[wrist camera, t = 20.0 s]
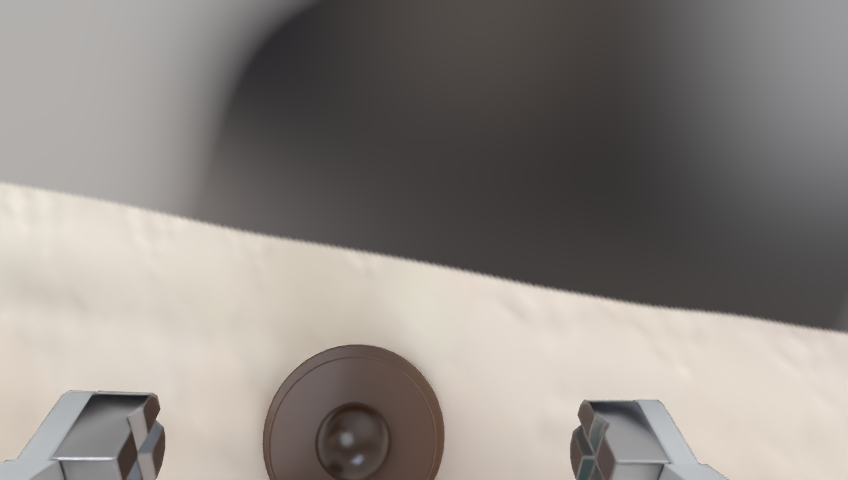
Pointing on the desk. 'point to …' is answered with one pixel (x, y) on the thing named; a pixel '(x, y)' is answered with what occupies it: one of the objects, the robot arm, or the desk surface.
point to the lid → (354, 420)
